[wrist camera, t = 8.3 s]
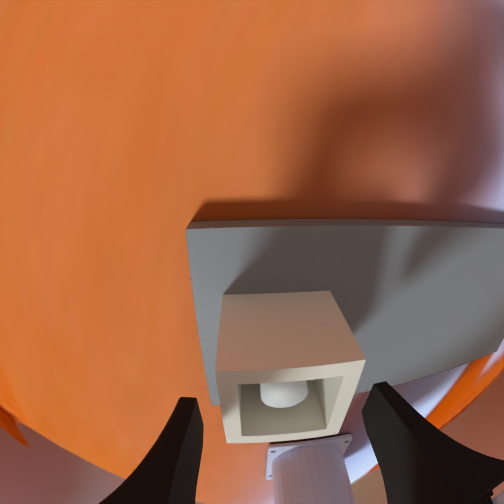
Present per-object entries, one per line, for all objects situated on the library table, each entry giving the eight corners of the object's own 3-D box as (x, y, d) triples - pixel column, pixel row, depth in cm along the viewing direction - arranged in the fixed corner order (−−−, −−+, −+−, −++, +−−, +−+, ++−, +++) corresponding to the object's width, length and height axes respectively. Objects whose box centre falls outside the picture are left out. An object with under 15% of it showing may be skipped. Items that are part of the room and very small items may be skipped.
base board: (490, 343, 18) (518, 375, 13) (212, 392, 18) (207, 454, 13) (530, 225, 14) (572, 249, 9) (190, 221, 13) (162, 269, 8)
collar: (317, 365, 15) (337, 433, 11) (228, 370, 15) (226, 443, 11) (329, 290, 13) (365, 359, 9) (222, 294, 13) (215, 370, 9)
